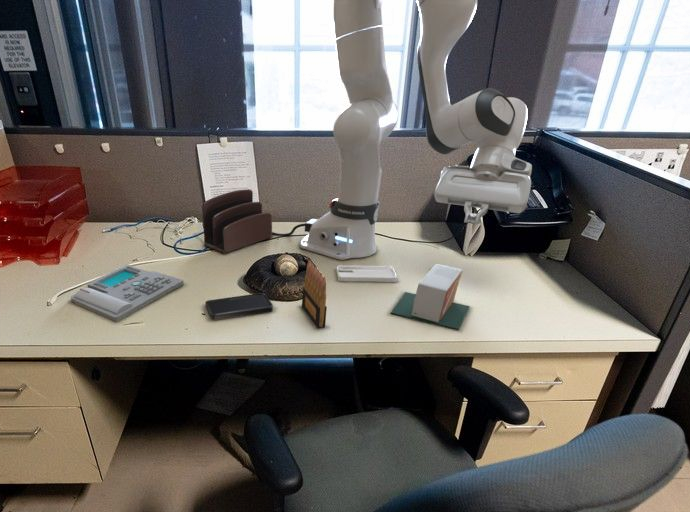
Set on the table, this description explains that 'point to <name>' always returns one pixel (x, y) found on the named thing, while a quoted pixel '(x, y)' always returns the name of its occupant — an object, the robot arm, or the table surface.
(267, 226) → the letter holder
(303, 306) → the ammunition clip
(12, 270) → the table surface
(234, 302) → the phone
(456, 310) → the mat
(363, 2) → the robot arm
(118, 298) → the office telephone
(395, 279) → the phone case
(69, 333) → the table surface
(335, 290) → the table surface
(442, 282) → the small box
